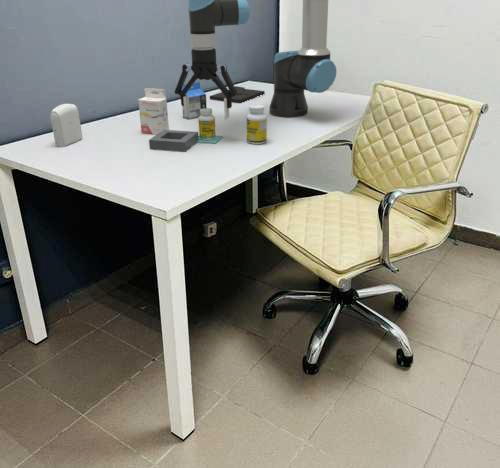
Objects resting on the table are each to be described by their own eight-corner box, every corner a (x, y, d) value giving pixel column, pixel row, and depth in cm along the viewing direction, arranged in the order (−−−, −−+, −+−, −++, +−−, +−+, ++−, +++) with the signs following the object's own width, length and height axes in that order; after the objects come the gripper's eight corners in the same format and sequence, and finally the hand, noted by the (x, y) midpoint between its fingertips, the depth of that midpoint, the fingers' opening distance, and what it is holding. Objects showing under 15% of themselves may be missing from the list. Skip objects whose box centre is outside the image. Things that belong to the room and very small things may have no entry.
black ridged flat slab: (235, 92, 239) (209, 100, 223) (235, 86, 238) (209, 94, 222) (264, 95, 231) (239, 104, 216) (264, 89, 230) (239, 98, 214)
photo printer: (64, 147, 162) (57, 108, 156) (53, 146, 164) (46, 107, 158) (84, 138, 171) (78, 101, 165) (74, 137, 172) (68, 100, 166)
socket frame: (198, 140, 167) (198, 131, 166) (185, 151, 157) (185, 142, 156) (164, 138, 170) (163, 129, 169) (149, 149, 160) (148, 139, 158)
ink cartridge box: (140, 133, 176) (136, 90, 169) (148, 129, 180) (143, 87, 173) (163, 135, 173) (159, 91, 167) (169, 131, 177) (166, 88, 171)
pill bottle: (243, 140, 167) (243, 105, 162) (261, 138, 170) (262, 103, 164) (251, 145, 162) (251, 109, 157) (269, 143, 164) (270, 107, 159)
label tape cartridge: (188, 119, 192) (186, 86, 186) (182, 117, 195) (180, 85, 189) (207, 115, 197) (205, 83, 192) (201, 114, 200) (199, 81, 194)
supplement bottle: (214, 135, 171) (213, 106, 167) (217, 139, 167) (215, 110, 162) (198, 136, 170) (196, 108, 166) (200, 141, 166) (199, 111, 161)
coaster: (222, 136, 171) (222, 135, 171) (215, 143, 164) (215, 142, 164) (200, 135, 173) (200, 134, 173) (192, 142, 166) (192, 141, 166)
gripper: (245, 47, 156) (246, 116, 166) (170, 45, 162) (175, 112, 171) (239, 50, 149) (240, 122, 159) (160, 48, 155) (166, 117, 165)
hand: (206, 117), depth 165 cm, fingers open, 13 cm apart
